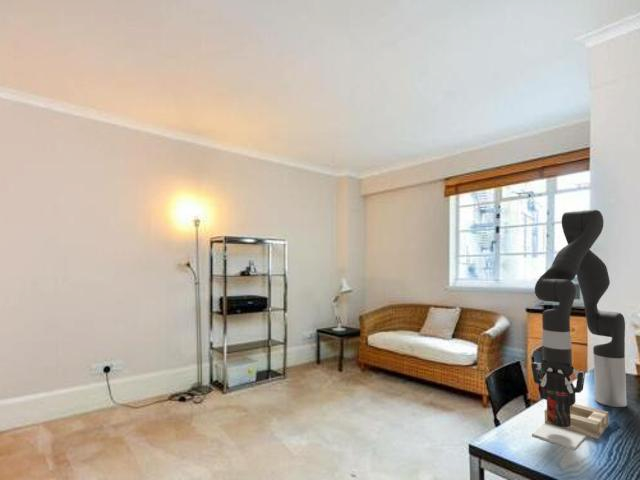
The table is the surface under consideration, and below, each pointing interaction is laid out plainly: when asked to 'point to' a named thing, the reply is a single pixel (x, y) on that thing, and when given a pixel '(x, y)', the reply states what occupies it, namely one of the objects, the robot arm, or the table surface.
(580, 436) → the mat
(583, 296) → the robot arm
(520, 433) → the table surface
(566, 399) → the deodorant
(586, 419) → the holder
